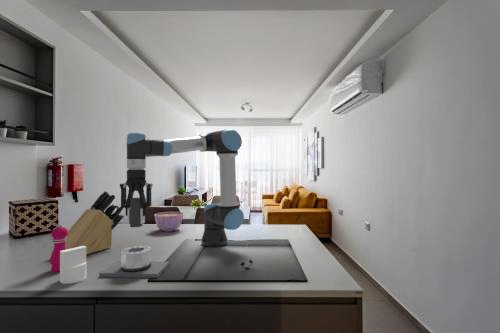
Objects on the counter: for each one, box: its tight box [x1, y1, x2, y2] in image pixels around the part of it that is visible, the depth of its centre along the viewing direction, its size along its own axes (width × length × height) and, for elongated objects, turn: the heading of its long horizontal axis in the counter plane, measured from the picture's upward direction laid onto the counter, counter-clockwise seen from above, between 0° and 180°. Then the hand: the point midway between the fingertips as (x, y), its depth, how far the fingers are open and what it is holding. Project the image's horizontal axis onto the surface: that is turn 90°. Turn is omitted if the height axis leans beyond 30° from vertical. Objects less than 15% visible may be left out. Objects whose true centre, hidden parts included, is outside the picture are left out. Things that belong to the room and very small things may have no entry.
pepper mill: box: [49, 223, 69, 273], centre depth 124 cm, size 7×7×20 cm
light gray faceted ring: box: [120, 245, 153, 272], centre depth 122 cm, size 12×12×8 cm
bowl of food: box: [153, 211, 184, 233], centre depth 201 cm, size 20×20×12 cm
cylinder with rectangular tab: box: [59, 246, 88, 285], centre depth 113 cm, size 9×9×12 cm
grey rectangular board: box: [98, 260, 171, 279], centre depth 122 cm, size 24×15×2 cm, turn 87°
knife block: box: [50, 190, 125, 255], centre depth 152 cm, size 11×35×31 cm, turn 155°
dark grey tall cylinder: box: [129, 197, 143, 228], centre depth 122 cm, size 5×5×12 cm
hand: (136, 223), depth 122 cm, fingers closed on dark grey tall cylinder, 5 cm apart
